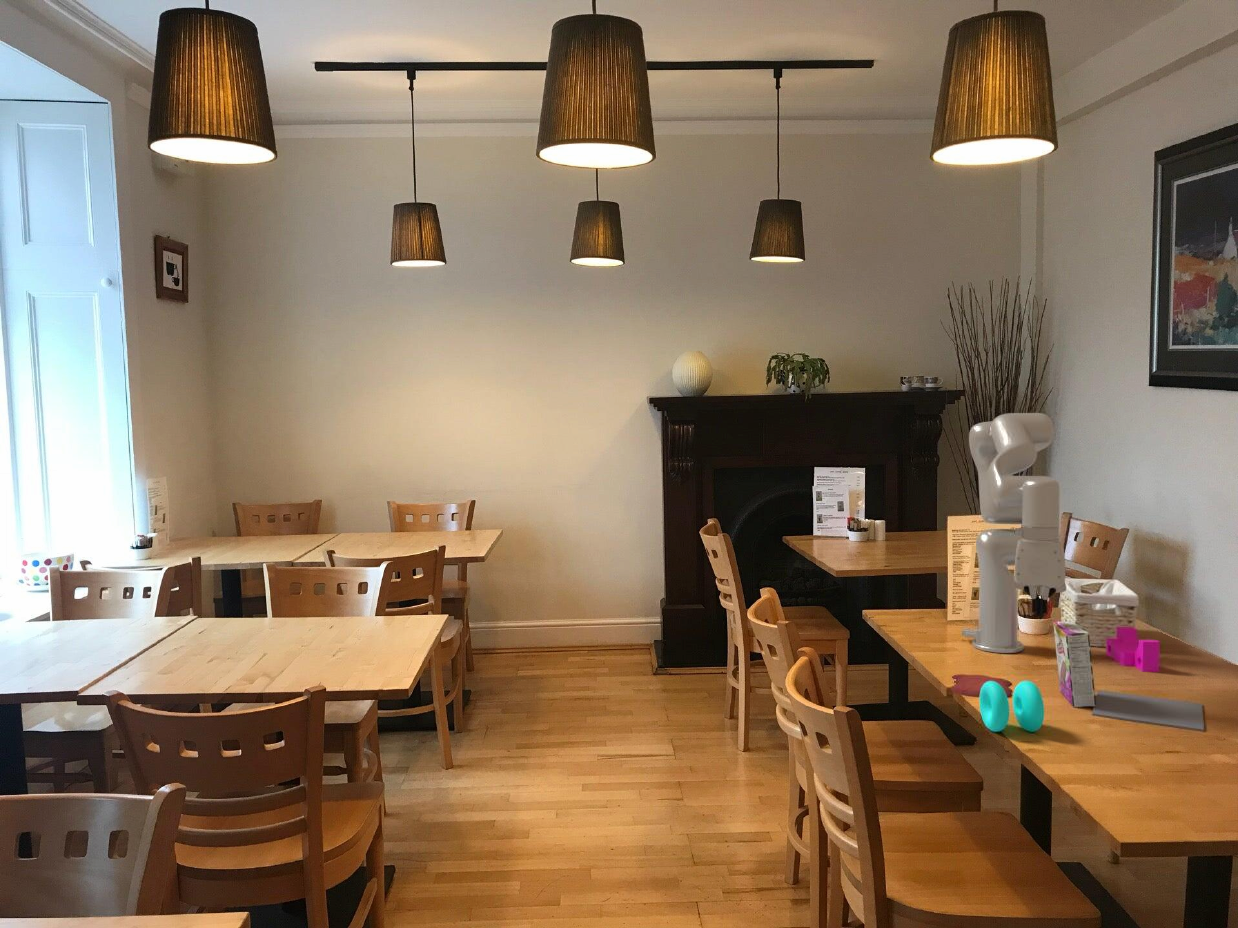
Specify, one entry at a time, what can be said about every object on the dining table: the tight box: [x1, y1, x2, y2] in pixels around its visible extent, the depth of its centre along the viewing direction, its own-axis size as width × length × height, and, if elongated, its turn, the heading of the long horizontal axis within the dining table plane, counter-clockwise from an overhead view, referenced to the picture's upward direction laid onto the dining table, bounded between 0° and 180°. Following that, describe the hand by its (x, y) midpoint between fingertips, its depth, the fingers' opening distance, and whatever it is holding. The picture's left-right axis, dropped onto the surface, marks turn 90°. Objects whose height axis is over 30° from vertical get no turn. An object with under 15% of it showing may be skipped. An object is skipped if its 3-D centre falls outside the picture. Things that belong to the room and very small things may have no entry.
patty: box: [950, 673, 1013, 699], centre depth 215 cm, size 18×14×2 cm
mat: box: [1091, 689, 1205, 732], centre depth 199 cm, size 20×18×1 cm
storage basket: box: [1060, 578, 1140, 648], centre depth 258 cm, size 24×16×15 cm
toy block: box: [1105, 627, 1160, 673], centre depth 234 cm, size 15×6×8 cm, turn 174°
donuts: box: [978, 680, 1045, 733], centre depth 188 cm, size 10×10×10 cm
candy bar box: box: [1052, 621, 1096, 709], centre depth 205 cm, size 11×5×16 cm, turn 169°
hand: (1039, 615), depth 208 cm, fingers closed
